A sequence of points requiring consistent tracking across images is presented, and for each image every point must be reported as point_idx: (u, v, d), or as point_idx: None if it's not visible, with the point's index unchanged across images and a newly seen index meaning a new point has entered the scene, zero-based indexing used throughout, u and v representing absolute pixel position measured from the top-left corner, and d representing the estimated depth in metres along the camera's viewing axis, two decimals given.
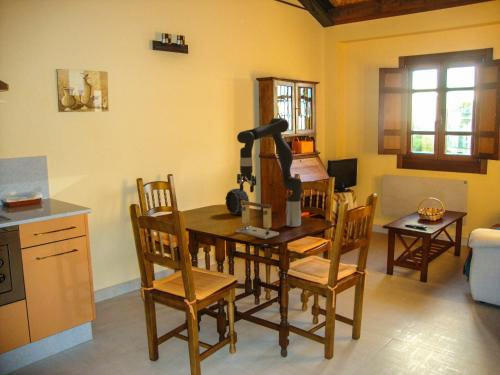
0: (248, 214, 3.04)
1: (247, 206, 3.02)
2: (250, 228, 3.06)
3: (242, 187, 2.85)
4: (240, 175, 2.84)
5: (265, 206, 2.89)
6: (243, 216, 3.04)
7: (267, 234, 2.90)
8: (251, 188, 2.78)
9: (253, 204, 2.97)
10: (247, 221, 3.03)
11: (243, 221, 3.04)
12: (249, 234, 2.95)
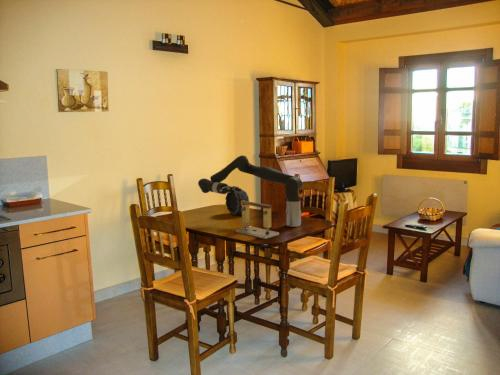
0: (248, 214, 3.04)
1: (247, 206, 3.02)
2: (250, 228, 3.06)
3: (238, 189, 3.10)
4: (232, 188, 3.17)
5: (265, 206, 2.89)
6: (243, 216, 3.04)
7: (267, 234, 2.90)
8: (231, 192, 3.06)
9: (253, 204, 2.97)
10: (247, 221, 3.03)
11: (243, 221, 3.04)
12: (249, 234, 2.95)
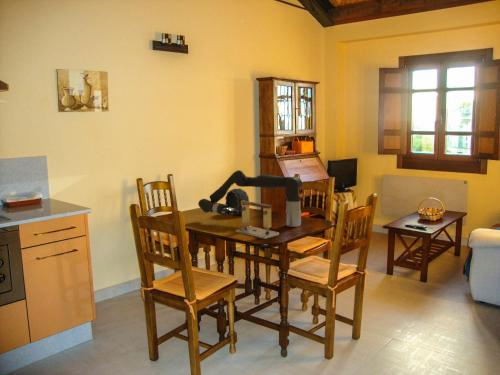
0: (248, 214, 3.04)
1: (247, 206, 3.02)
2: (250, 228, 3.06)
3: None
4: None
5: (265, 206, 2.89)
6: (243, 216, 3.04)
7: (267, 234, 2.90)
8: None
9: (253, 204, 2.97)
10: (247, 221, 3.03)
11: (243, 221, 3.04)
12: (249, 234, 2.95)
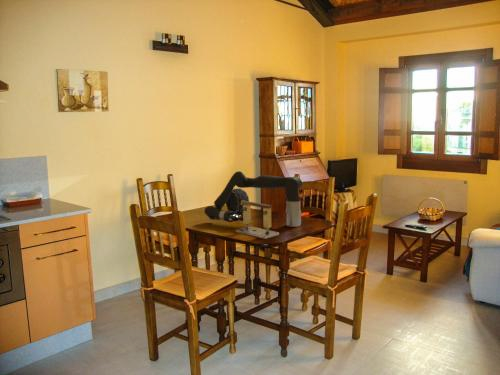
0: (249, 215, 3.03)
1: (248, 206, 3.02)
2: (250, 228, 3.06)
3: (242, 218, 3.07)
4: None
5: (265, 206, 2.89)
6: (244, 216, 3.03)
7: (267, 234, 2.90)
8: None
9: (253, 204, 2.97)
10: (248, 222, 3.03)
11: (244, 221, 3.03)
12: (249, 234, 2.95)
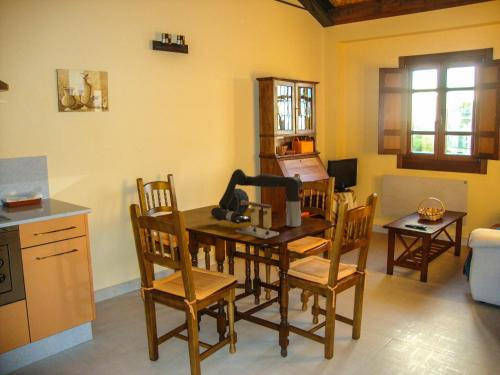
0: (257, 216, 2.98)
1: (256, 208, 2.97)
2: (250, 228, 3.06)
3: (250, 220, 3.02)
4: None
5: (265, 206, 2.89)
6: (252, 218, 2.98)
7: (267, 234, 2.90)
8: (249, 221, 3.02)
9: (253, 204, 2.97)
10: (256, 223, 2.98)
11: (252, 223, 2.99)
12: (249, 234, 2.95)
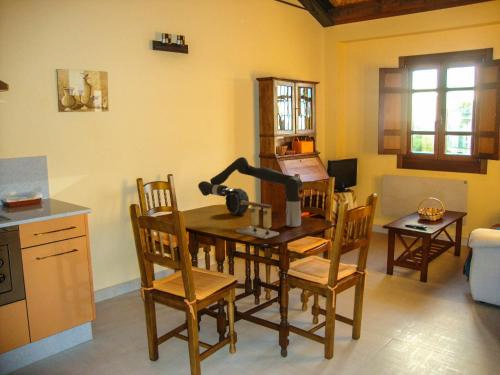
0: (257, 216, 2.98)
1: (256, 208, 2.97)
2: (250, 228, 3.06)
3: None
4: None
5: (265, 206, 2.89)
6: (252, 218, 2.98)
7: (267, 234, 2.90)
8: (234, 193, 3.08)
9: (253, 204, 2.97)
10: (256, 223, 2.98)
11: (252, 223, 2.98)
12: (249, 234, 2.95)
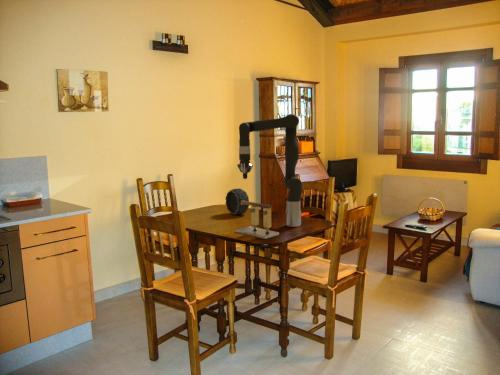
0: (257, 216, 2.98)
1: (256, 208, 2.97)
2: (250, 228, 3.06)
3: None
4: None
5: (265, 206, 2.89)
6: (252, 218, 2.98)
7: (267, 234, 2.90)
8: None
9: (253, 204, 2.97)
10: (256, 223, 2.98)
11: (252, 223, 2.98)
12: (249, 234, 2.95)
